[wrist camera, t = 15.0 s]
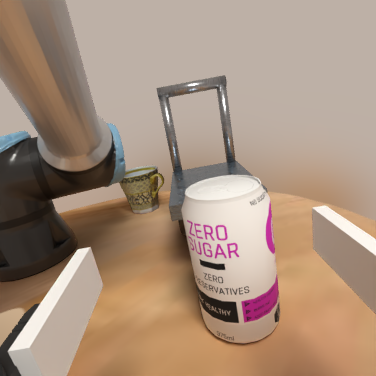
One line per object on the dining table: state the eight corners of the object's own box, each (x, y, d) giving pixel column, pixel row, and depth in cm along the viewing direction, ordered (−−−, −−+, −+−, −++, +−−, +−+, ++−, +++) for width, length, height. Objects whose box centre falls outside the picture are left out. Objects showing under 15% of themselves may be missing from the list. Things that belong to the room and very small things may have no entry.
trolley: (281, 279, 33) (262, 48, 25) (184, 295, 33) (135, 73, 25) (241, 212, 54) (224, 76, 46) (182, 223, 54) (155, 89, 46)
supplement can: (270, 286, 32) (259, 168, 27) (290, 346, 24) (277, 195, 19) (205, 292, 33) (183, 179, 28) (202, 351, 25) (172, 208, 21)
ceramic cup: (118, 215, 65) (108, 177, 63) (145, 200, 73) (137, 166, 70) (156, 220, 58) (146, 177, 55) (182, 203, 65) (174, 164, 63)
